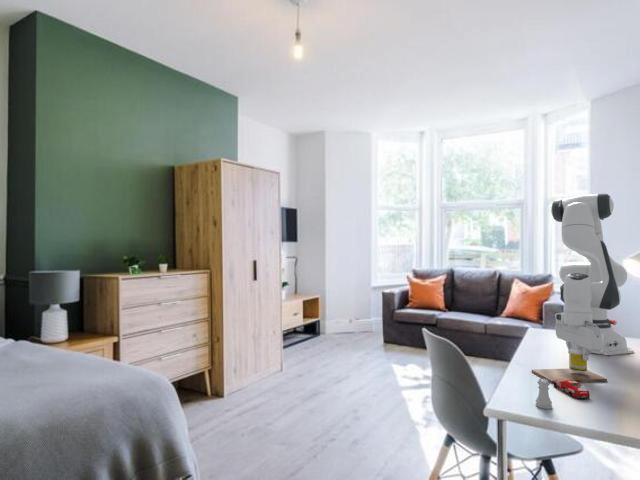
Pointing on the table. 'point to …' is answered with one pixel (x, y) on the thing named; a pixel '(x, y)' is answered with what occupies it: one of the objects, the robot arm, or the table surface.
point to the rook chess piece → (543, 395)
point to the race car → (572, 388)
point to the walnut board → (568, 375)
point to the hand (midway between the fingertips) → (578, 357)
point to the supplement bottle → (577, 359)
